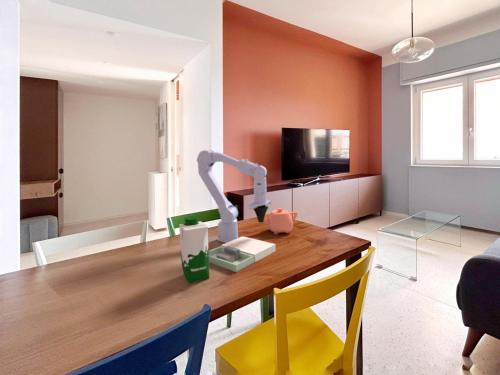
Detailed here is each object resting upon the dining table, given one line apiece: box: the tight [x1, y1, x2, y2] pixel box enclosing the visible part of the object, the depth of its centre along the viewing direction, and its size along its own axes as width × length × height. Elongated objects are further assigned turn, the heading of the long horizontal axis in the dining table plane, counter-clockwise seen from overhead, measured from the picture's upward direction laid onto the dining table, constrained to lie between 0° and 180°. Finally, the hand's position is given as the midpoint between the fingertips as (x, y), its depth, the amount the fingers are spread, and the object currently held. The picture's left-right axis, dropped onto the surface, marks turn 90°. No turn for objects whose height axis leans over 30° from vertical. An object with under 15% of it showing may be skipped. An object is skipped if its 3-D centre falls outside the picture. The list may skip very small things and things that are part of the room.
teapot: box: [263, 207, 299, 235], centre depth 139 cm, size 13×20×12 cm, turn 97°
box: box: [208, 246, 255, 273], centre depth 103 cm, size 18×10×3 cm, turn 51°
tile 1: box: [216, 252, 235, 263], centre depth 102 cm, size 6×4×2 cm, turn 51°
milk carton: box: [178, 216, 210, 284], centre depth 90 cm, size 9×9×20 cm
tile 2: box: [224, 246, 240, 261], centre depth 105 cm, size 6×4×2 cm
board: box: [221, 236, 277, 263], centre depth 113 cm, size 18×14×3 cm
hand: (260, 221), depth 124 cm, fingers closed
